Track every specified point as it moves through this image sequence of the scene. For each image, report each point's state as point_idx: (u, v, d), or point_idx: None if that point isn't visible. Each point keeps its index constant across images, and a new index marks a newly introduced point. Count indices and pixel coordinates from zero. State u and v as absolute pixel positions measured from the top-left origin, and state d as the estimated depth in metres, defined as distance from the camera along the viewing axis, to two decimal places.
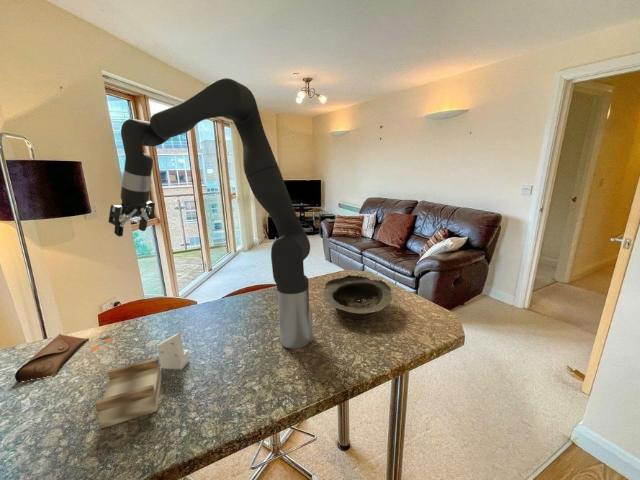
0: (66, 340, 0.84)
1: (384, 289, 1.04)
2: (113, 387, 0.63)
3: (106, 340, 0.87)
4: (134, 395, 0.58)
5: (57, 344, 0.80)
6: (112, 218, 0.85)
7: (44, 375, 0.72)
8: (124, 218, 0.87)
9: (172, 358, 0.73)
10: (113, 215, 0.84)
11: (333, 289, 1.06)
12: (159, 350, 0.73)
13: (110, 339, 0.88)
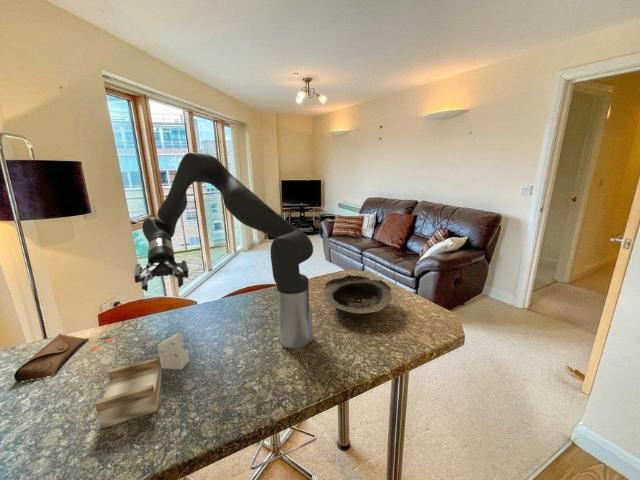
0: (66, 340, 0.84)
1: (384, 289, 1.04)
2: (113, 387, 0.63)
3: (106, 340, 0.87)
4: (134, 395, 0.58)
5: (56, 344, 0.80)
6: None
7: (43, 375, 0.72)
8: None
9: (172, 358, 0.73)
10: (135, 272, 0.83)
11: (332, 289, 1.06)
12: (159, 350, 0.73)
13: (110, 339, 0.88)
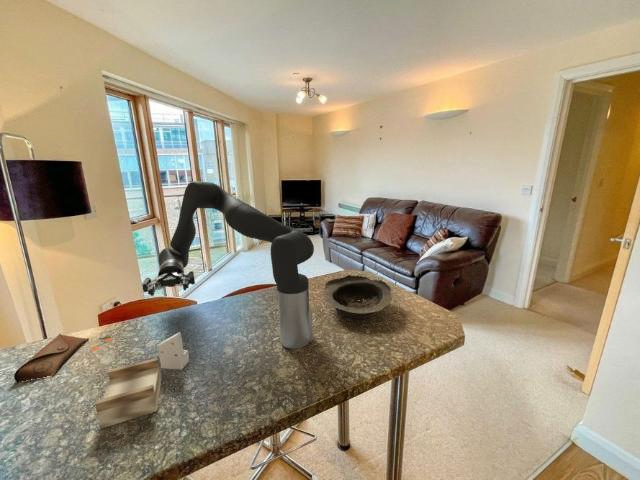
0: (66, 340, 0.84)
1: (384, 289, 1.04)
2: (113, 387, 0.63)
3: (106, 340, 0.87)
4: (134, 395, 0.58)
5: (56, 344, 0.80)
6: None
7: (43, 375, 0.72)
8: None
9: (172, 358, 0.73)
10: None
11: (332, 289, 1.06)
12: (159, 350, 0.73)
13: (110, 339, 0.88)
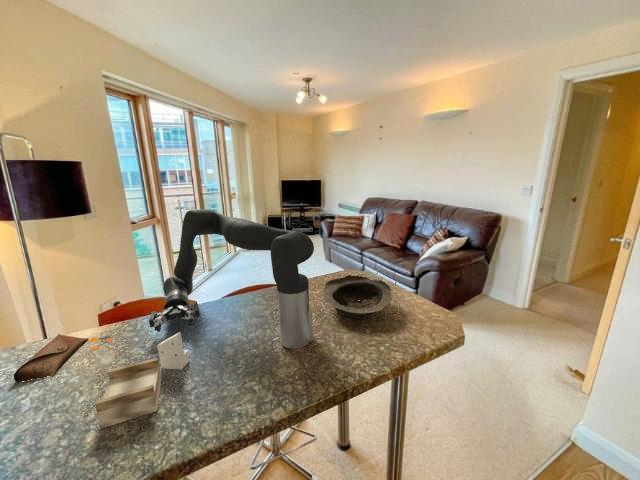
0: (65, 340, 0.84)
1: (384, 289, 1.04)
2: (113, 387, 0.63)
3: (106, 340, 0.87)
4: (134, 395, 0.58)
5: (56, 344, 0.80)
6: None
7: (43, 375, 0.72)
8: None
9: (172, 358, 0.73)
10: None
11: (332, 289, 1.06)
12: (159, 350, 0.73)
13: (110, 339, 0.88)
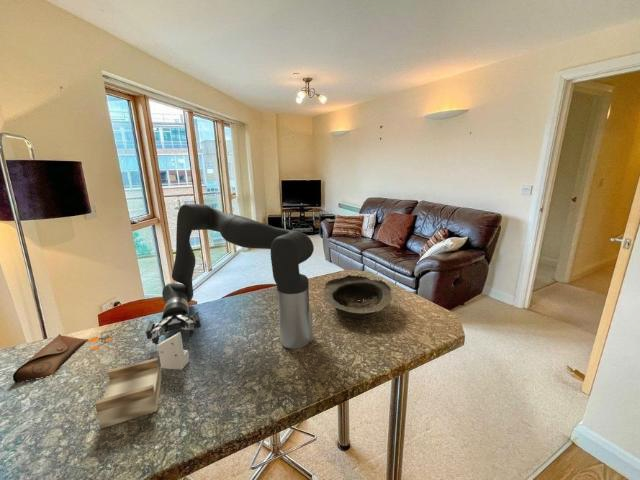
0: (65, 341, 0.84)
1: (384, 289, 1.04)
2: (113, 387, 0.63)
3: (106, 340, 0.87)
4: (134, 395, 0.58)
5: (55, 345, 0.80)
6: None
7: (42, 376, 0.72)
8: None
9: (172, 358, 0.73)
10: None
11: (332, 289, 1.06)
12: (159, 350, 0.73)
13: (110, 339, 0.88)
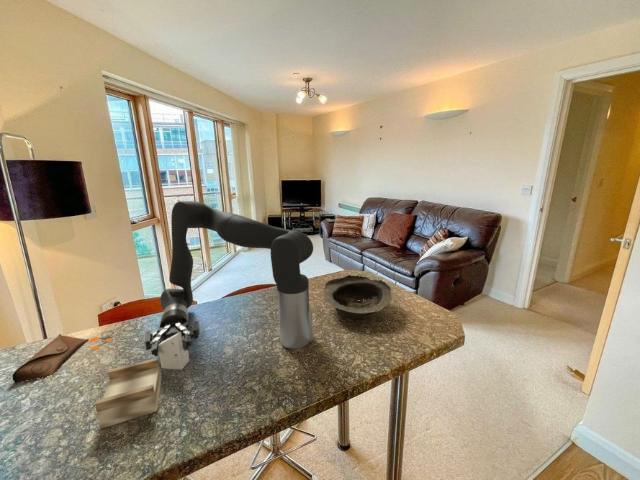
0: (65, 341, 0.84)
1: (384, 289, 1.04)
2: (113, 387, 0.63)
3: (107, 340, 0.87)
4: (134, 395, 0.58)
5: (56, 345, 0.80)
6: None
7: (41, 376, 0.72)
8: None
9: (172, 358, 0.73)
10: None
11: (332, 289, 1.06)
12: (159, 350, 0.73)
13: (111, 339, 0.88)
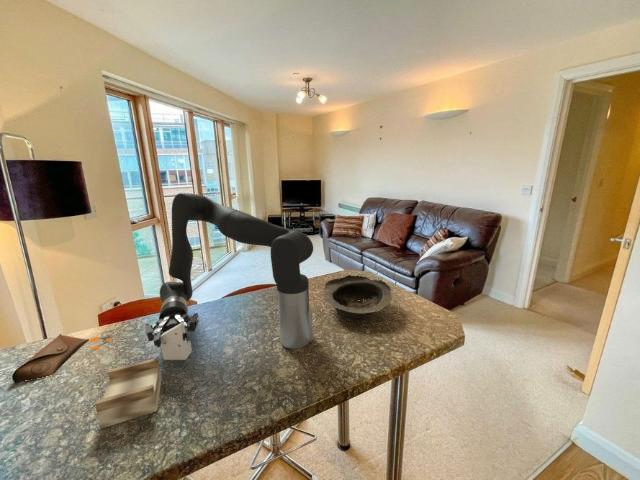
0: (66, 341, 0.84)
1: (384, 289, 1.04)
2: (113, 387, 0.63)
3: (107, 340, 0.87)
4: (134, 395, 0.58)
5: (56, 345, 0.80)
6: None
7: (41, 376, 0.72)
8: None
9: (175, 349, 0.73)
10: (146, 331, 0.75)
11: (332, 289, 1.06)
12: (162, 341, 0.72)
13: (111, 339, 0.88)
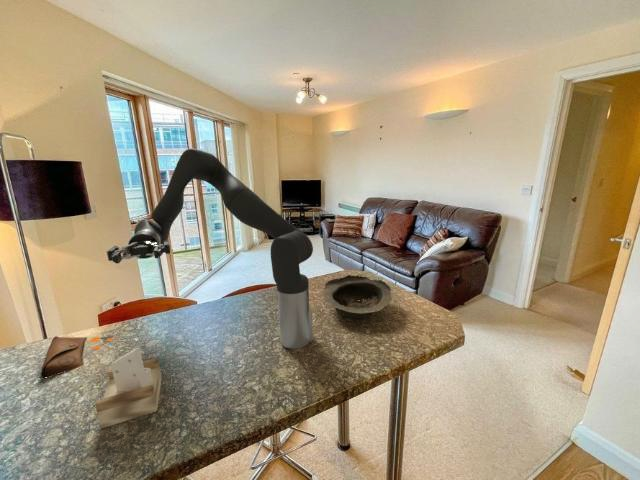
0: (68, 340, 0.84)
1: (384, 289, 1.04)
2: (113, 387, 0.63)
3: (108, 339, 0.88)
4: (134, 395, 0.58)
5: (64, 343, 0.81)
6: None
7: (72, 367, 0.75)
8: None
9: (130, 378, 0.61)
10: None
11: (332, 289, 1.06)
12: (113, 369, 0.60)
13: (112, 339, 0.88)
